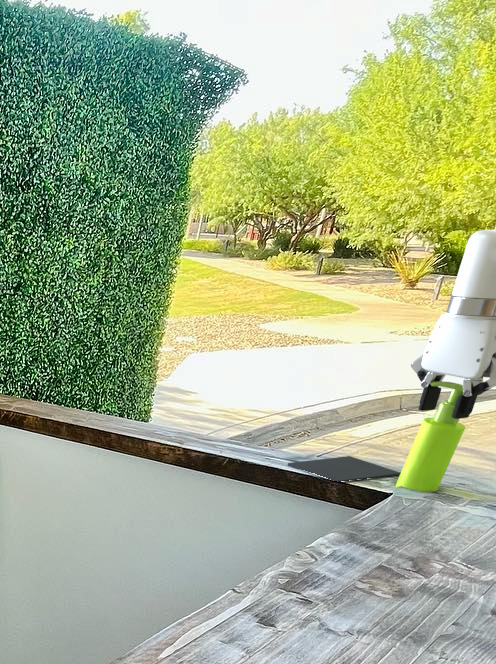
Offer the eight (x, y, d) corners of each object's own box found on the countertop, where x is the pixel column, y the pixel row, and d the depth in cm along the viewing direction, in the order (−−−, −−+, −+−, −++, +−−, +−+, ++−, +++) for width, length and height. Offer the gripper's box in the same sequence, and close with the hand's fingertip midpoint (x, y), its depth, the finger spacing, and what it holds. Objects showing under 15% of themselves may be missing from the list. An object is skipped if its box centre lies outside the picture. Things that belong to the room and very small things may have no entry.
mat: (348, 458, 159) (349, 455, 158) (401, 475, 149) (402, 473, 149) (287, 465, 155) (288, 462, 155) (337, 483, 145) (338, 480, 145)
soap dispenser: (393, 479, 145) (436, 376, 136) (438, 491, 140) (486, 386, 131) (384, 487, 141) (428, 382, 132) (430, 499, 137) (478, 392, 128)
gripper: (552, 313, 121) (512, 424, 128) (440, 301, 136) (410, 401, 143) (518, 315, 119) (479, 428, 126) (408, 303, 134) (379, 404, 141)
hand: (443, 412), depth 134 cm, fingers closed on soap dispenser, 4 cm apart
